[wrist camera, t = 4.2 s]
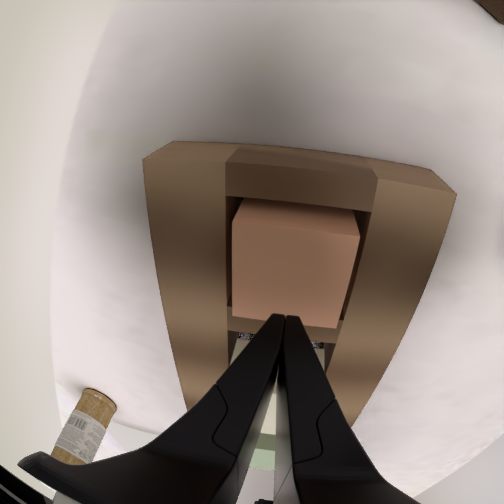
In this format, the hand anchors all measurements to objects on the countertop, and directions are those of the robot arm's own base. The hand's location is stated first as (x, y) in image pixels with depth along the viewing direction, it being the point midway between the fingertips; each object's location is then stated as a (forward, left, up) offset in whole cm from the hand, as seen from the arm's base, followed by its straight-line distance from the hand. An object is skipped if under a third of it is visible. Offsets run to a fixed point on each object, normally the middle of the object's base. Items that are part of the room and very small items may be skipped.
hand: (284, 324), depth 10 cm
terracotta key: (0, 0, -5) cm, 5 cm away
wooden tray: (-7, 0, -6) cm, 10 cm away
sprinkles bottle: (-24, +19, -7) cm, 31 cm away
